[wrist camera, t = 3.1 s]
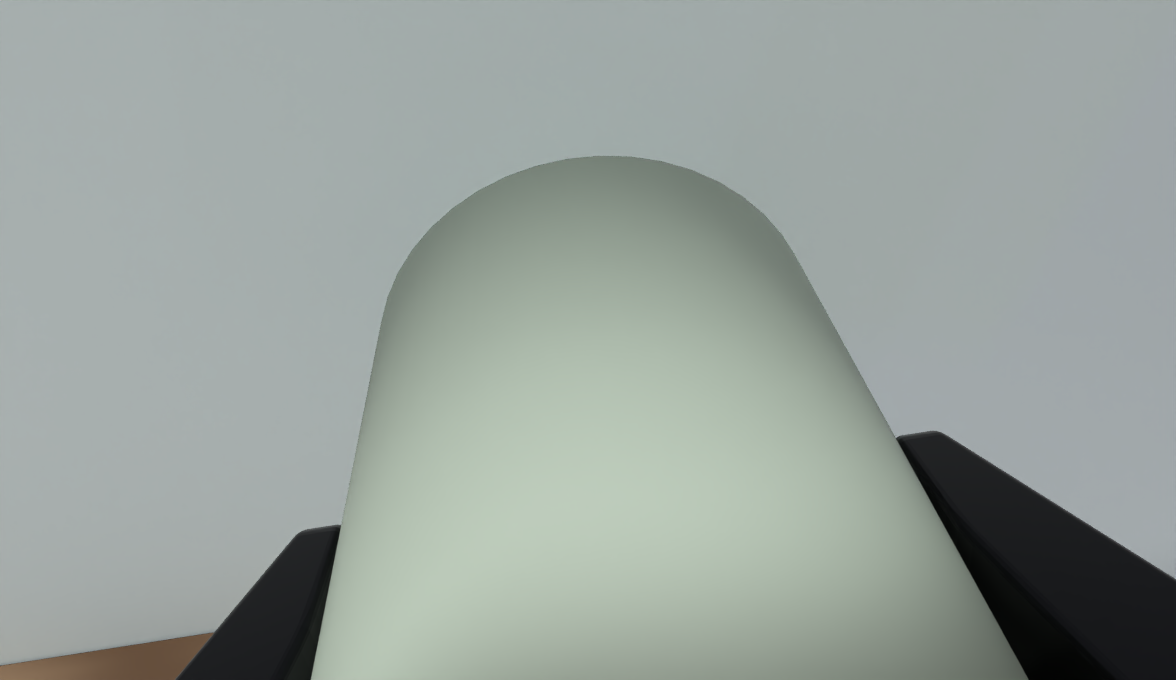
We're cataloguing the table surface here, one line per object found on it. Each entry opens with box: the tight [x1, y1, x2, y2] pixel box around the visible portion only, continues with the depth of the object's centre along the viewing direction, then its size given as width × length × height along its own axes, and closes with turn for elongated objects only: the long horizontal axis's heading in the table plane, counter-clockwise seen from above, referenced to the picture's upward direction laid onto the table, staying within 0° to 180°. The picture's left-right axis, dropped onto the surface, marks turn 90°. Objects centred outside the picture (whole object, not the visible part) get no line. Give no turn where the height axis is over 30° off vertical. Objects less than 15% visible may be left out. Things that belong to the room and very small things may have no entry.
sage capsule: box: [311, 156, 1029, 680], centre depth 8 cm, size 5×5×8 cm
